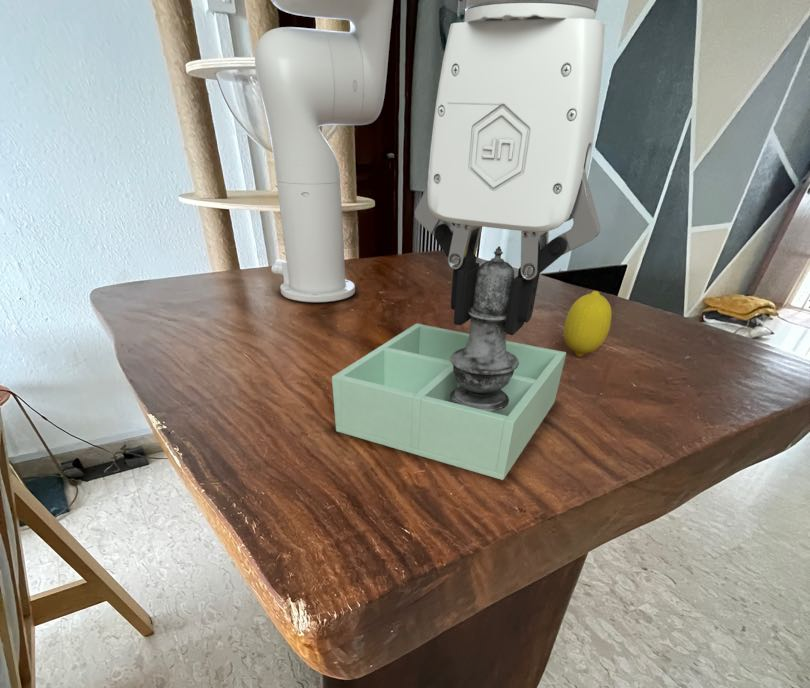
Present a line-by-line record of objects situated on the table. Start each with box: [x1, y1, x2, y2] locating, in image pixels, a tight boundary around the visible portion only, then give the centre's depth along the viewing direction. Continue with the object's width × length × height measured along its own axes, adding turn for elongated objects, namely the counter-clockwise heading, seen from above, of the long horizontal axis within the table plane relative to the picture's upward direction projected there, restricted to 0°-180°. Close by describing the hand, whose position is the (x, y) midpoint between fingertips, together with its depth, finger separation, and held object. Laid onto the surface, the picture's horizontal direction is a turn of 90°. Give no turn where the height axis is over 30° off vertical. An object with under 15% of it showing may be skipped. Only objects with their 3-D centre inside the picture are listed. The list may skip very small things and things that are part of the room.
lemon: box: [563, 290, 612, 358], centre depth 62 cm, size 6×6×8 cm
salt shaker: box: [450, 245, 519, 412], centre depth 40 cm, size 6×6×12 cm
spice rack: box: [331, 322, 567, 481], centre depth 50 cm, size 17×17×6 cm
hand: (489, 322), depth 40 cm, fingers closed on salt shaker, 3 cm apart
